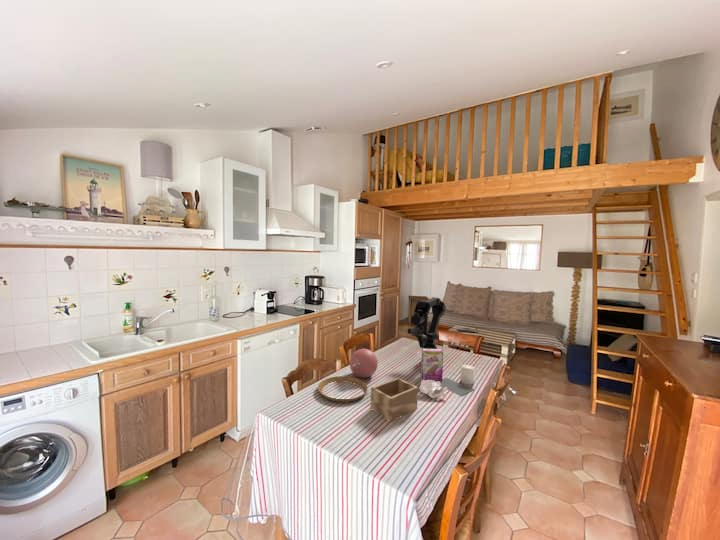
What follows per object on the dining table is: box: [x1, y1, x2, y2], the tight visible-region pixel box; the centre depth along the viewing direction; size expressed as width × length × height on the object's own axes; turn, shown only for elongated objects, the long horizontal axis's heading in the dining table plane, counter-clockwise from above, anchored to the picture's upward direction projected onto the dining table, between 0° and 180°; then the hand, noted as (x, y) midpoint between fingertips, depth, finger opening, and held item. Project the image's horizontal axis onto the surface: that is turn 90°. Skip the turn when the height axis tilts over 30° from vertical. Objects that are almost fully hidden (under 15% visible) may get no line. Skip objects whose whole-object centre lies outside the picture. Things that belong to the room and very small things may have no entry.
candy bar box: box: [420, 348, 444, 382], centre depth 163 cm, size 11×5×16 cm, turn 84°
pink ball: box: [349, 348, 379, 379], centre depth 162 cm, size 15×20×15 cm
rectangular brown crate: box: [370, 377, 419, 422], centre depth 131 cm, size 12×17×10 cm
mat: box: [436, 377, 475, 397], centre depth 154 cm, size 17×16×1 cm
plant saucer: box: [317, 375, 368, 403], centre depth 146 cm, size 24×24×3 cm
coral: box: [418, 379, 448, 402], centre depth 145 cm, size 12×7×12 cm
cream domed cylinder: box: [459, 364, 476, 385], centre depth 162 cm, size 7×7×8 cm
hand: (421, 347), depth 179 cm, fingers closed
